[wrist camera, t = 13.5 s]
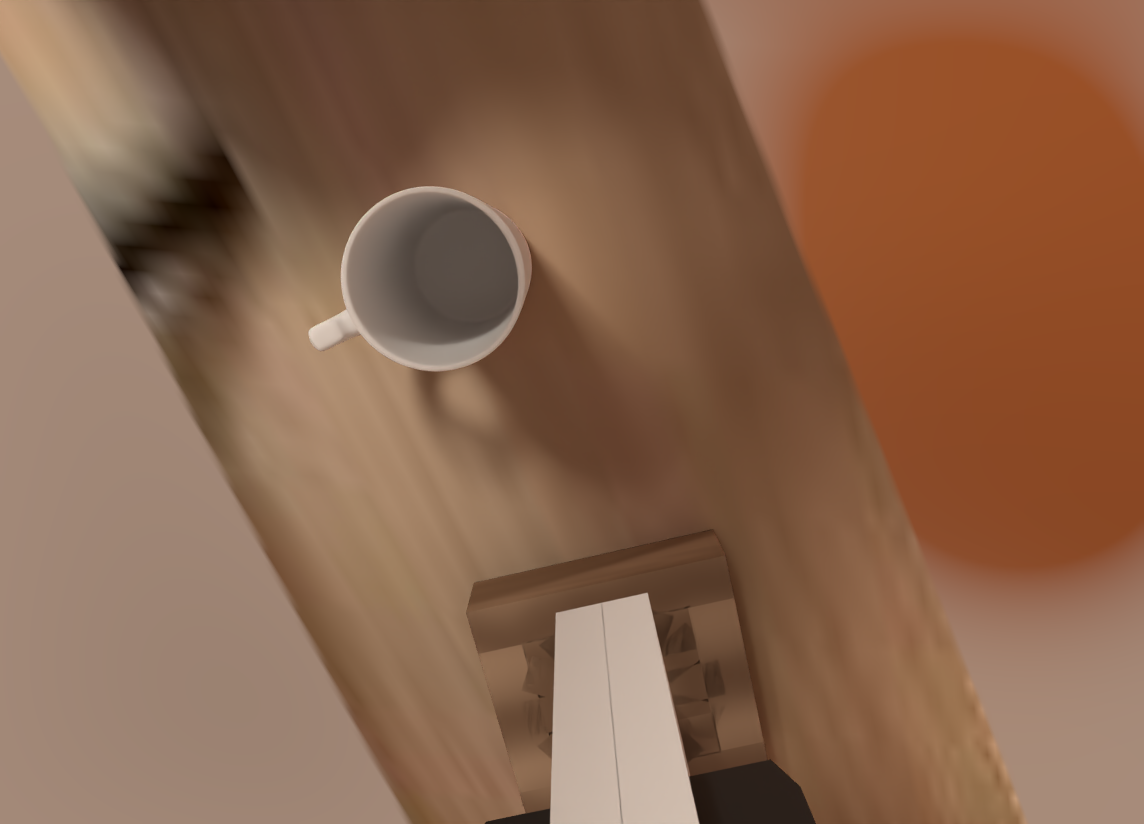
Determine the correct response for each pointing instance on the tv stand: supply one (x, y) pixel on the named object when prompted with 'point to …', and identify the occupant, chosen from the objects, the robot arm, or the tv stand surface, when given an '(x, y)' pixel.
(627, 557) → the beige flat square block
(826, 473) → the tv stand surface
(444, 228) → the mug
